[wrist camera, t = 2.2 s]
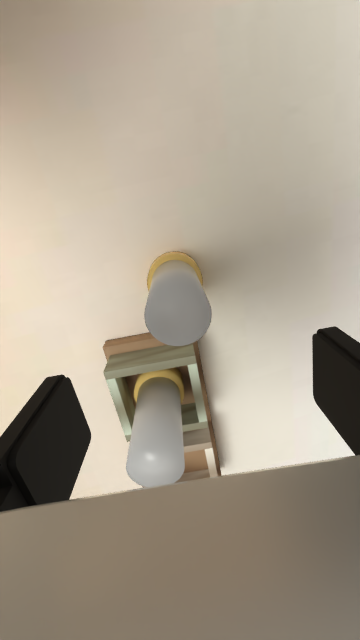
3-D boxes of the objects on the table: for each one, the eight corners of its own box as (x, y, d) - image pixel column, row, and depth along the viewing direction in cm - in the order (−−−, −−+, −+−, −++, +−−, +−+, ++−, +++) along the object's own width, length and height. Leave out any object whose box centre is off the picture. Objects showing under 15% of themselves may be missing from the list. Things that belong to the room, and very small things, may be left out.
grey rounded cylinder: (143, 257, 25) (128, 285, 16) (195, 247, 25) (212, 269, 15) (154, 306, 27) (147, 358, 17) (203, 297, 26) (222, 344, 17)
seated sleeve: (130, 366, 27) (111, 447, 18) (178, 358, 27) (183, 435, 18) (142, 405, 29) (130, 496, 20) (186, 397, 29) (195, 485, 20)
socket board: (106, 340, 28) (95, 363, 24) (193, 324, 27) (198, 344, 23) (150, 478, 35) (147, 514, 31) (219, 466, 35) (226, 501, 31)
